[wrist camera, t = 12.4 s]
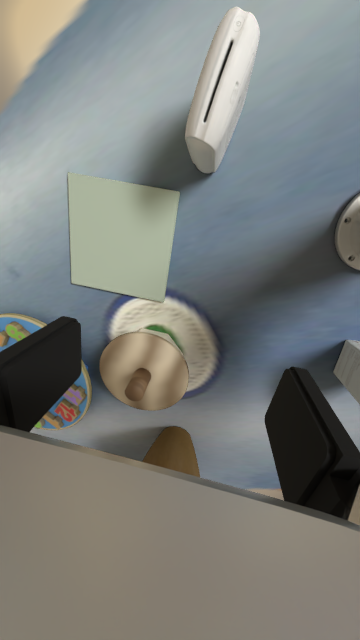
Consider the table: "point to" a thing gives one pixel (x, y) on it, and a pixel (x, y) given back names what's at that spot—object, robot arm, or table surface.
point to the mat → (121, 235)
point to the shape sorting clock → (74, 401)
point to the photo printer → (222, 89)
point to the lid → (144, 371)
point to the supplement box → (350, 368)
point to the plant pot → (174, 452)
